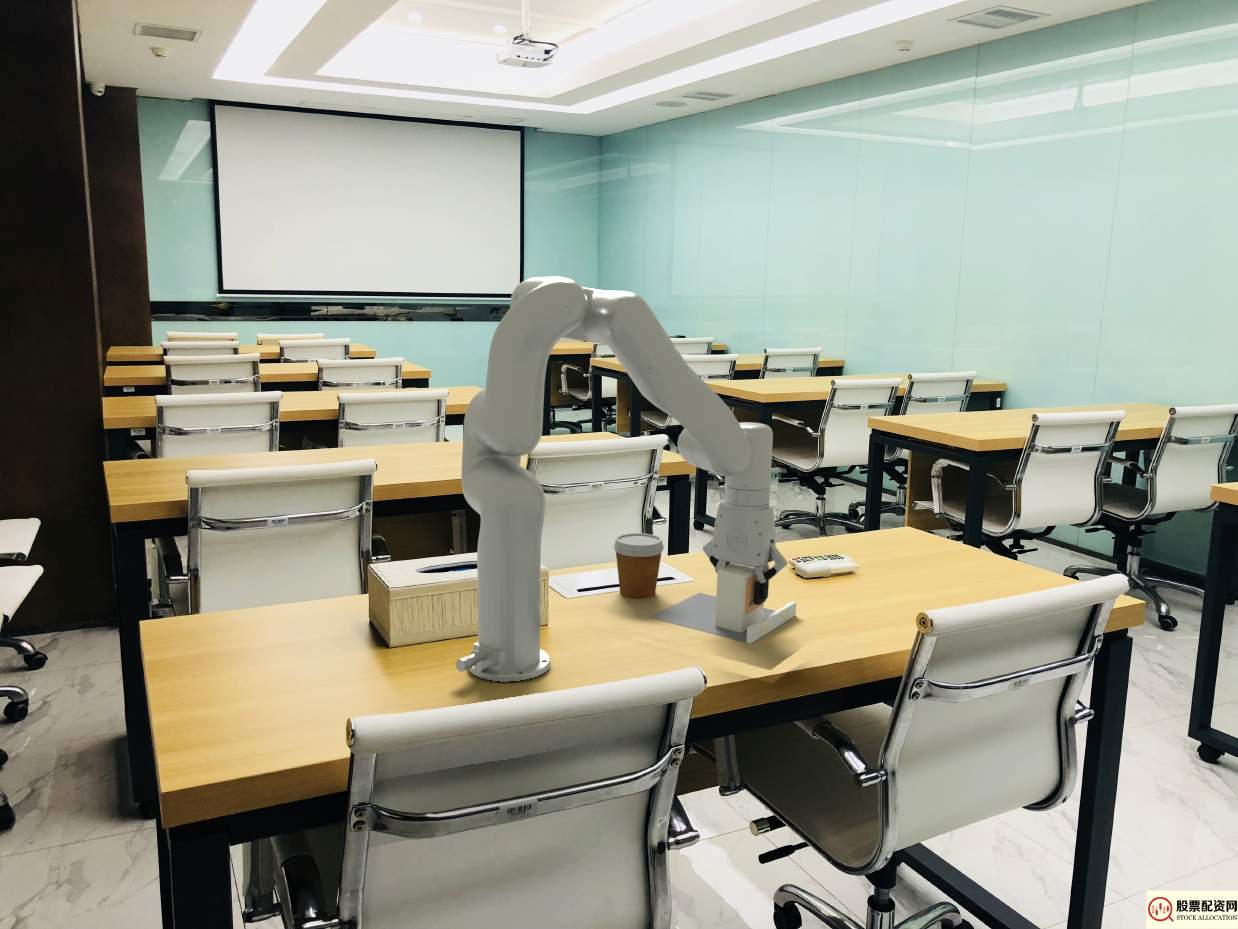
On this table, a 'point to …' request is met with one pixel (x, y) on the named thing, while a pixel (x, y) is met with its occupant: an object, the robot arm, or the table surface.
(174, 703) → the table surface
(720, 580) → the carton
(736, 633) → the shelf board
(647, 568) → the disposable coffee cup
